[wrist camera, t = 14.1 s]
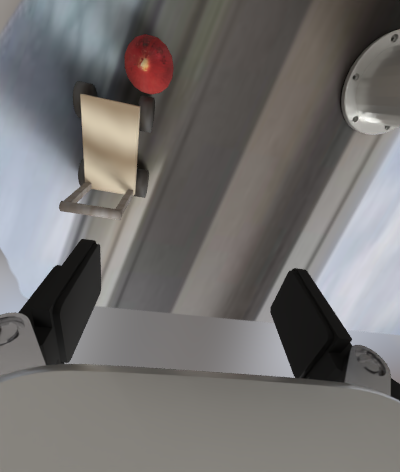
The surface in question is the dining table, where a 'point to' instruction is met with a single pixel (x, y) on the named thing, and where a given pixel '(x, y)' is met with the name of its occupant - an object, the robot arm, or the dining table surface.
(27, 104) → the dining table surface
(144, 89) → the onion
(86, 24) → the dining table surface
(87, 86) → the trolley
